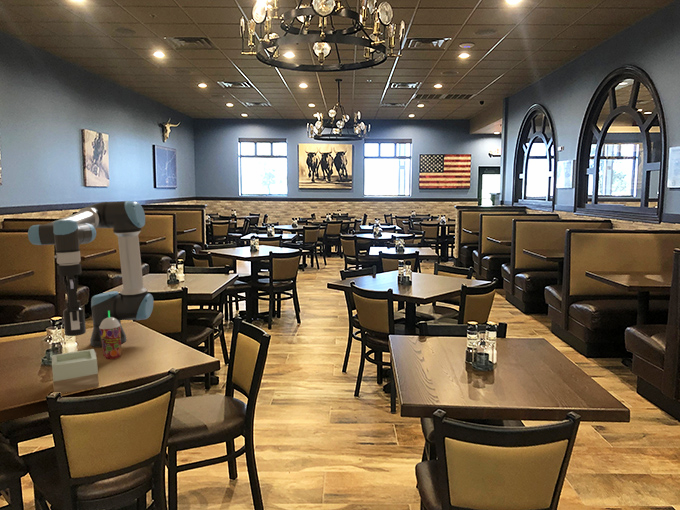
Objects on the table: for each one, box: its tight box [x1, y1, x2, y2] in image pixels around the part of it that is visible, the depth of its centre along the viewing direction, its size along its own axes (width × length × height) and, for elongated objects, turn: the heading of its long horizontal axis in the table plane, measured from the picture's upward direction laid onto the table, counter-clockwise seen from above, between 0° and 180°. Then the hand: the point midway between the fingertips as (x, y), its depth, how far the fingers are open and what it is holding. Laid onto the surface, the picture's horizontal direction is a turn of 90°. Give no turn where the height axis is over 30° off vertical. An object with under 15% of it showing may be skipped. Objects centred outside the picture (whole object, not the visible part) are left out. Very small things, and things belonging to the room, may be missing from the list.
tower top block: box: [51, 348, 99, 383], centre depth 188 cm, size 14×14×6 cm
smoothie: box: [99, 311, 122, 360], centre depth 217 cm, size 8×8×20 cm
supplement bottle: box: [62, 299, 87, 337], centre depth 186 cm, size 7×7×12 cm
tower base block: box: [52, 373, 100, 394], centre depth 188 cm, size 14×14×5 cm
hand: (75, 327), depth 187 cm, fingers closed on supplement bottle, 7 cm apart
